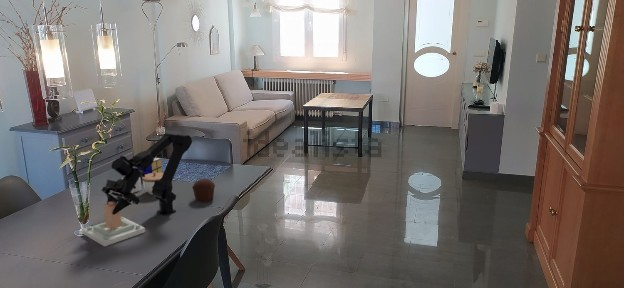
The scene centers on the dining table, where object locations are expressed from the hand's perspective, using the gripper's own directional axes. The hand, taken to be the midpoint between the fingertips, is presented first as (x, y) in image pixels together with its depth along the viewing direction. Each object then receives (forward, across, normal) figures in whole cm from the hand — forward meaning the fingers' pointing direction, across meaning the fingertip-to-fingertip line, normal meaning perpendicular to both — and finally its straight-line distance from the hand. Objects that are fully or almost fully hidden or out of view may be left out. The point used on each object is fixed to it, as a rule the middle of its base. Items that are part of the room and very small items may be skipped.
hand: (109, 213), depth 197 cm
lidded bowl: (-25, -26, +39) cm, 53 cm away
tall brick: (+4, 0, +6) cm, 7 cm away
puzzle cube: (-37, -52, +52) cm, 82 cm away
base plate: (+6, 0, +8) cm, 10 cm away
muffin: (-30, +2, +44) cm, 53 cm away
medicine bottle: (-21, -39, +35) cm, 57 cm away
